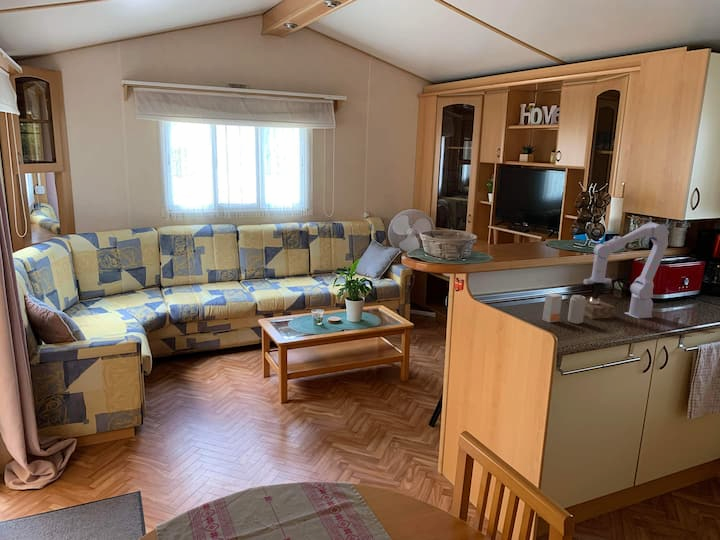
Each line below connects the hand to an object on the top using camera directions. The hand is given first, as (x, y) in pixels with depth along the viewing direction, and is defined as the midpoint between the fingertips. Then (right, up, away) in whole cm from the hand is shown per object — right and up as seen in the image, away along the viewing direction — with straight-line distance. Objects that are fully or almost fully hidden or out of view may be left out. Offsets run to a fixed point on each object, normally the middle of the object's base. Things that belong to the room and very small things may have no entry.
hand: (594, 298), depth 259 cm
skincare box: (-25, -10, -12) cm, 29 cm away
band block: (0, -7, +2) cm, 8 cm away
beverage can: (-14, -10, -13) cm, 22 cm away
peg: (0, -4, +1) cm, 4 cm away
